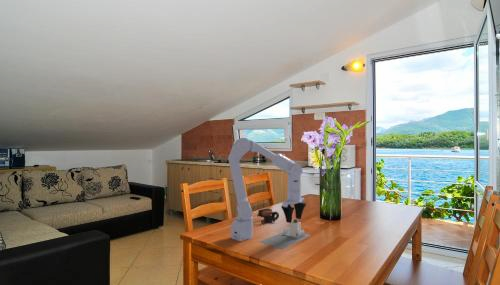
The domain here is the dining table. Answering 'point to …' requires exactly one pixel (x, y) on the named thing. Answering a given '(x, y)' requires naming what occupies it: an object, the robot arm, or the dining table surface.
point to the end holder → (298, 235)
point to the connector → (295, 227)
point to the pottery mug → (268, 216)
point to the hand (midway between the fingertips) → (293, 220)
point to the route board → (282, 240)
